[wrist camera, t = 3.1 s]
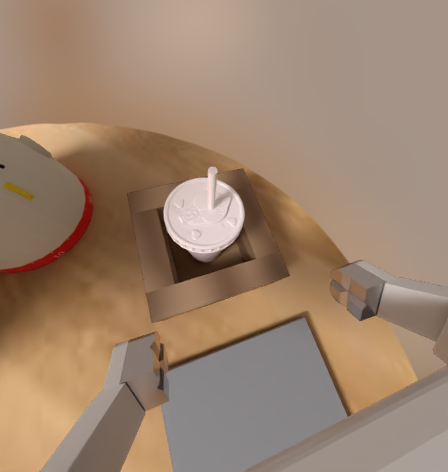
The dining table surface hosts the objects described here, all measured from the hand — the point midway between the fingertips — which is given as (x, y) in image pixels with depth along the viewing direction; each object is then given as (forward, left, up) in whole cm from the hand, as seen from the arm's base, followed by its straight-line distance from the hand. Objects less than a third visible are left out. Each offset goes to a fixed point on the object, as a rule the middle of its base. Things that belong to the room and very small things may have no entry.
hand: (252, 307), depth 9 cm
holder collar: (0, +8, -14) cm, 16 cm away
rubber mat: (0, -10, -14) cm, 17 cm away
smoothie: (0, +8, -14) cm, 16 cm away
